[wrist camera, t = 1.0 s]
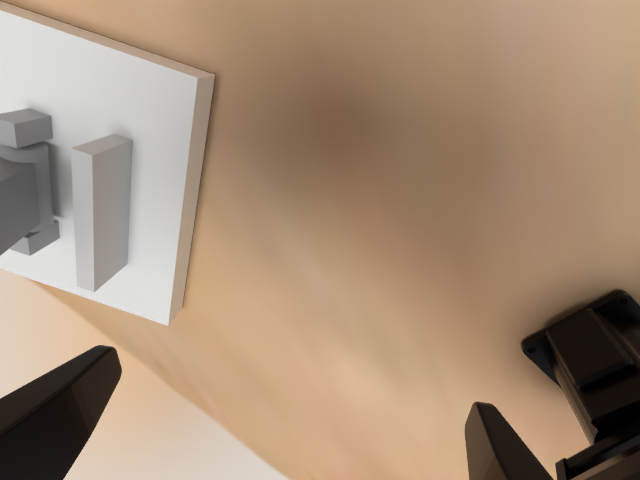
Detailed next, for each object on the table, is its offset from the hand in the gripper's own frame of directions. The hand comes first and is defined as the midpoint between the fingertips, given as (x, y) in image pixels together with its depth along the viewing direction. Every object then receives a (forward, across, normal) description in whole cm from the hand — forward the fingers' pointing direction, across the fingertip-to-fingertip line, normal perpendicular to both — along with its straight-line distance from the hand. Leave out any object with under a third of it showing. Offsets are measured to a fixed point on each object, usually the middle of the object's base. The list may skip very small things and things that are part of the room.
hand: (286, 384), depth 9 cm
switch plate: (+14, +16, 0) cm, 21 cm away
